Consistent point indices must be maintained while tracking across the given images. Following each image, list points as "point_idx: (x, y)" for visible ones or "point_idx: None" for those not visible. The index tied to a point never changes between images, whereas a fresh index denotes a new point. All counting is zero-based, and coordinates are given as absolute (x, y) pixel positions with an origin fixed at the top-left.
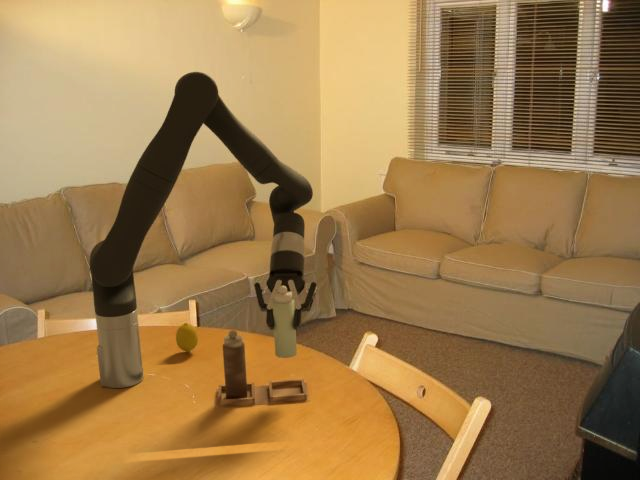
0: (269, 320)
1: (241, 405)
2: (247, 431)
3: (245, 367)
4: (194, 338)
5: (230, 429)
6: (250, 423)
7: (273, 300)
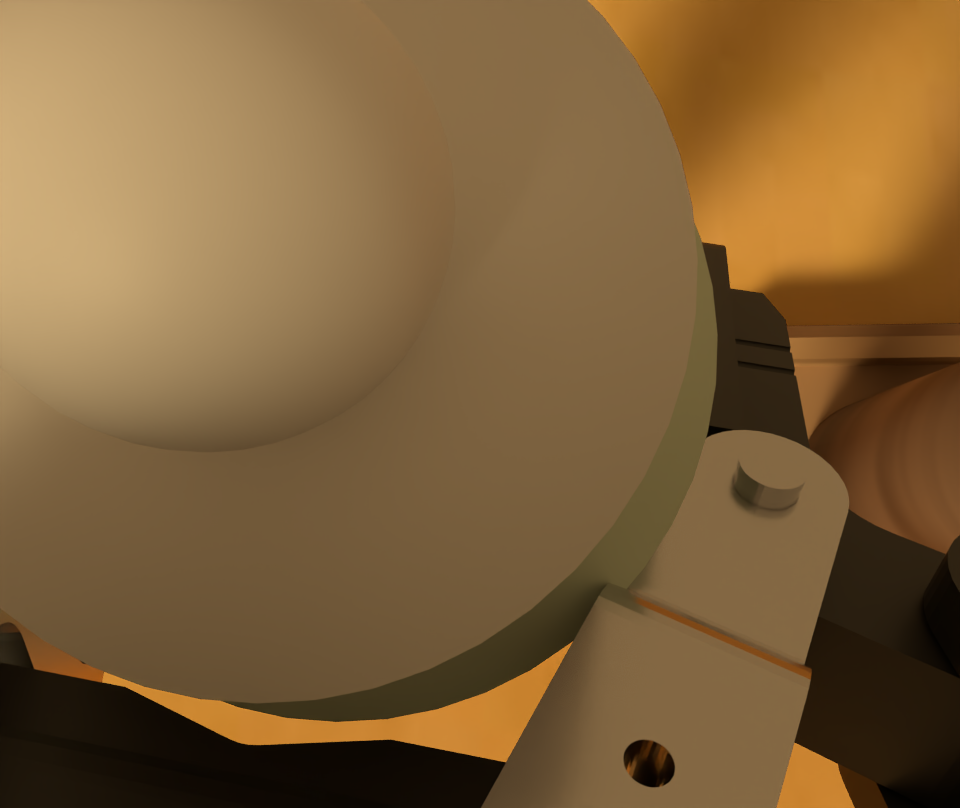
0: (726, 283)
1: (837, 333)
2: (774, 66)
3: (893, 443)
4: None
5: (886, 103)
6: (758, 162)
7: (680, 429)
